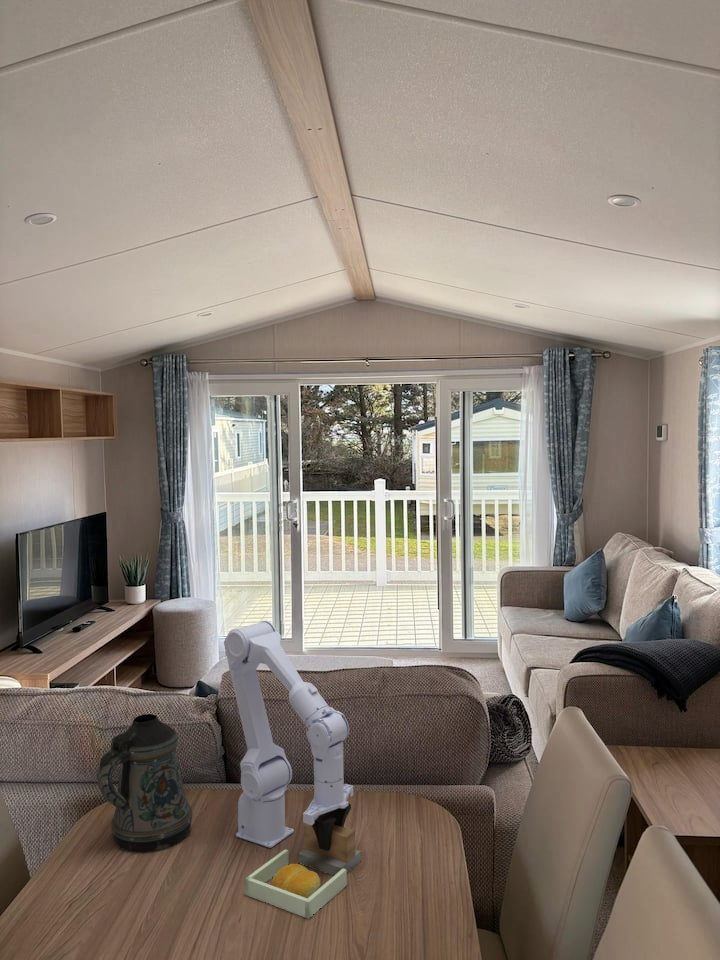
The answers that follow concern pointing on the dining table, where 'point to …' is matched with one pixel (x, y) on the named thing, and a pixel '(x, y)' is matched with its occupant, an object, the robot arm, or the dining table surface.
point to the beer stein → (146, 787)
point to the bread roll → (297, 880)
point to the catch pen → (286, 899)
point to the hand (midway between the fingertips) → (329, 844)
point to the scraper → (330, 851)
